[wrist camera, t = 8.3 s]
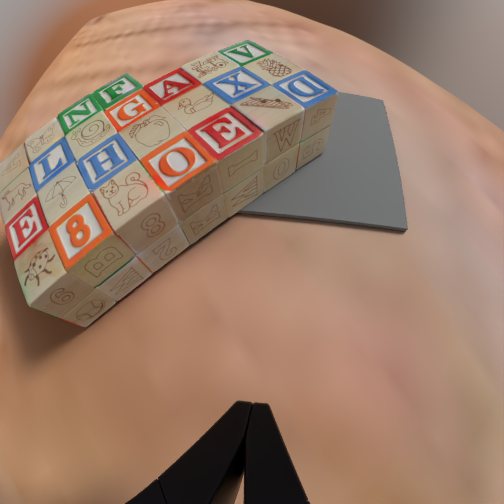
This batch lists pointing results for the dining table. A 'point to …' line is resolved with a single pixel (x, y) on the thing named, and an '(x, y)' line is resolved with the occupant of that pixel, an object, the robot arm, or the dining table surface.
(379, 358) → the dining table surface
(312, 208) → the mat
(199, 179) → the stack of blocks
